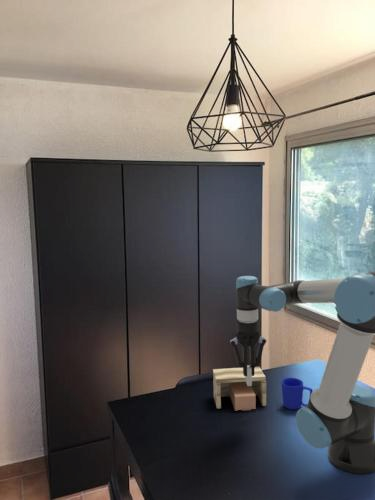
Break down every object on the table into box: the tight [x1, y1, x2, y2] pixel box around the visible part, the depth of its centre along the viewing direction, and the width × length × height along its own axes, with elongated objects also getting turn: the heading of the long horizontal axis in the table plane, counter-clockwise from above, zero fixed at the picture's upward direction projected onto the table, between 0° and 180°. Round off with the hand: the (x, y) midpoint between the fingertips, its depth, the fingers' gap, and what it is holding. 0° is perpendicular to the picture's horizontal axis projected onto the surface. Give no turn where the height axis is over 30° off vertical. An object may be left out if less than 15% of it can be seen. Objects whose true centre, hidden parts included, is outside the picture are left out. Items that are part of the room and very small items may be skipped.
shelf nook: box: [212, 366, 267, 409], centre depth 176 cm, size 11×20×12 cm, turn 94°
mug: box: [280, 377, 313, 410], centre depth 169 cm, size 8×12×10 cm
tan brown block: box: [229, 382, 257, 412], centre depth 174 cm, size 12×8×6 cm, turn 4°
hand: (249, 384), depth 156 cm, fingers closed
